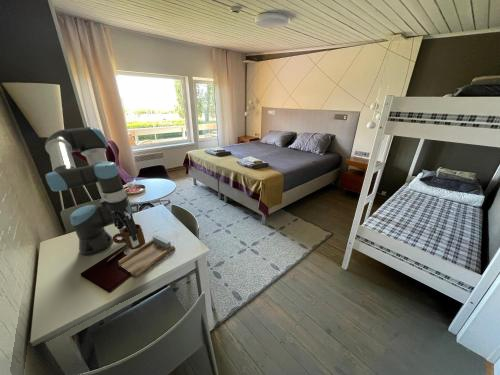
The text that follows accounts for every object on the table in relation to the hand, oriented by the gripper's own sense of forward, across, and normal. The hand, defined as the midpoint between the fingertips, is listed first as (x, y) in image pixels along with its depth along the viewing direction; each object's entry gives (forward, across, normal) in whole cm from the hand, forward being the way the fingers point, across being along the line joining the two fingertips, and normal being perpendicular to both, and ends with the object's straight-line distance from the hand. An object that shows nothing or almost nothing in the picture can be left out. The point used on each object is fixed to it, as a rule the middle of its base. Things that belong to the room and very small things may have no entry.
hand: (130, 242), depth 95 cm
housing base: (+13, 0, +6) cm, 14 cm away
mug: (+3, -1, 0) cm, 3 cm away
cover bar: (+12, 0, +15) cm, 19 cm away
